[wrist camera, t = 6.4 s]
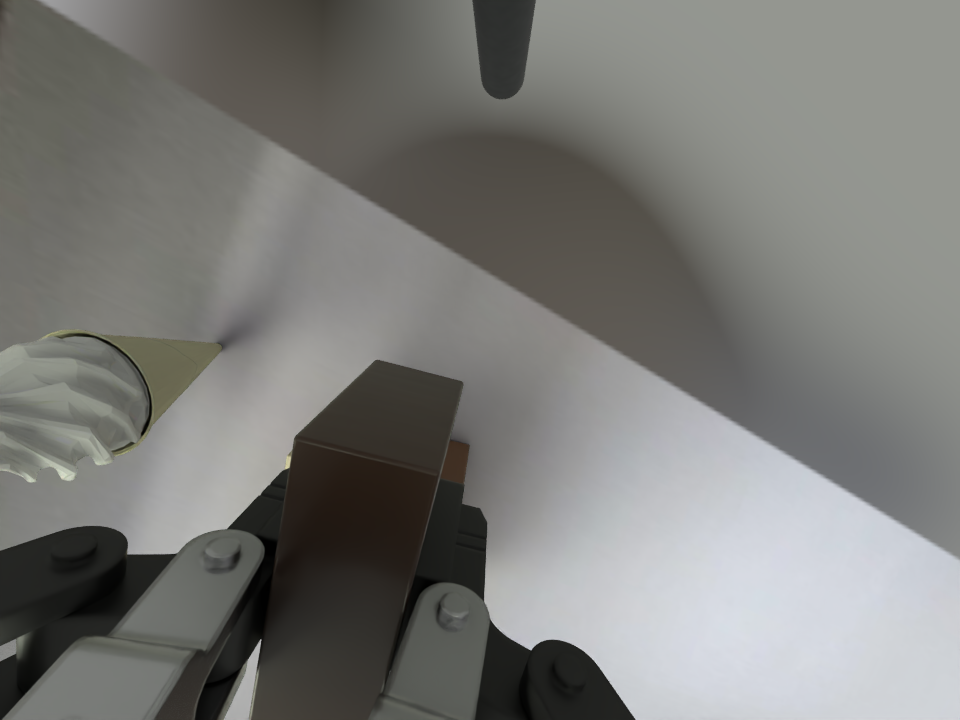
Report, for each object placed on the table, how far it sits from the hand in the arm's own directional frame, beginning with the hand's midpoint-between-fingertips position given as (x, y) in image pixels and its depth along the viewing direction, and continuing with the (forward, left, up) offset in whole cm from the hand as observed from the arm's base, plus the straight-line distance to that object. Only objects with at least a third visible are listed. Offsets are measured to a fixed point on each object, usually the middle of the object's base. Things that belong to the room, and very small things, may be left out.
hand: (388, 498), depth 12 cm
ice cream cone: (+2, -12, -13) cm, 18 cm away
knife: (+5, 0, 0) cm, 5 cm away
